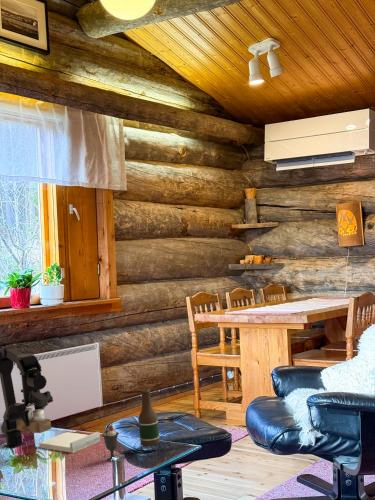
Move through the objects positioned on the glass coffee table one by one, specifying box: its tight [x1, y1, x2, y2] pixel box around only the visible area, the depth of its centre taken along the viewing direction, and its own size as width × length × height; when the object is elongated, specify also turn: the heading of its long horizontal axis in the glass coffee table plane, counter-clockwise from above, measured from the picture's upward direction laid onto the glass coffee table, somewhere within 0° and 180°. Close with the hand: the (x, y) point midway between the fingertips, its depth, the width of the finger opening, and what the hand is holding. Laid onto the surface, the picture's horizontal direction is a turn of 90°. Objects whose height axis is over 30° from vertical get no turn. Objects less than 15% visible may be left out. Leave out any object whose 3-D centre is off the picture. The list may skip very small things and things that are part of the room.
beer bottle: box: [138, 388, 161, 446], centre depth 286 cm, size 8×8×24 cm
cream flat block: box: [39, 431, 101, 454], centre depth 303 cm, size 20×16×4 cm
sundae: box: [101, 422, 120, 463], centre depth 277 cm, size 7×7×15 cm
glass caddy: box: [16, 407, 52, 434], centre depth 292 cm, size 14×6×8 cm, turn 53°
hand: (33, 424), depth 292 cm, fingers closed on glass caddy, 6 cm apart
